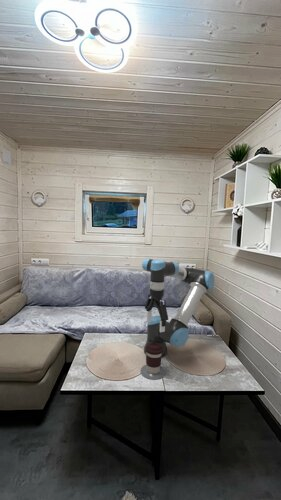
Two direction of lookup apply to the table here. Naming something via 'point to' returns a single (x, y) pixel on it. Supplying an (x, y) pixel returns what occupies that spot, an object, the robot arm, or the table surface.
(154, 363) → the coffee cup
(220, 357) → the table surface
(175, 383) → the table surface
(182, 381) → the table surface
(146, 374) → the coaster
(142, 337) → the table surface
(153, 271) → the robot arm
